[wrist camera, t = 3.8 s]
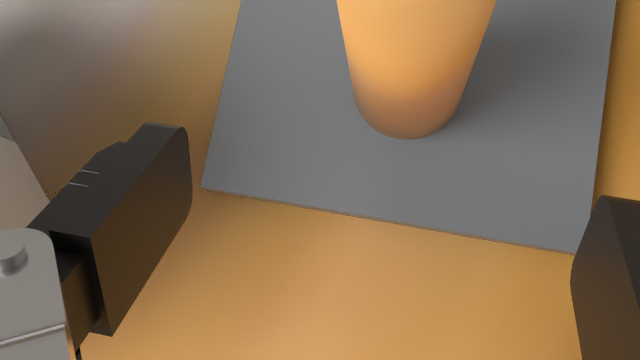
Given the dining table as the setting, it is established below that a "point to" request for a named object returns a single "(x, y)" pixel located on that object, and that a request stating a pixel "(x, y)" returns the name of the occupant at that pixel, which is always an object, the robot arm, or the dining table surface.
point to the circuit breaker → (17, 185)
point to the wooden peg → (411, 59)
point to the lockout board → (430, 151)
